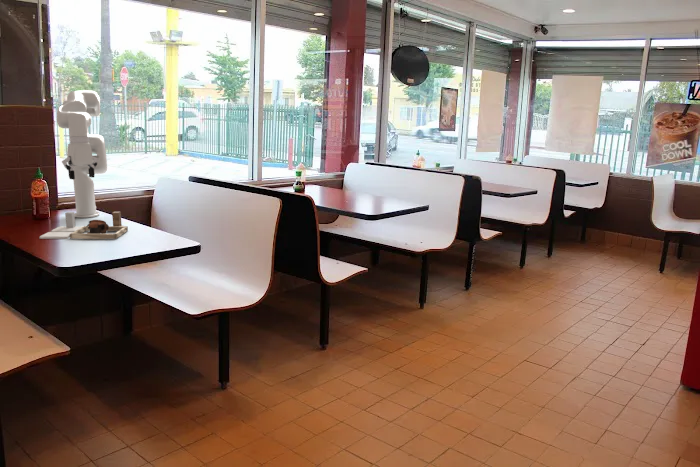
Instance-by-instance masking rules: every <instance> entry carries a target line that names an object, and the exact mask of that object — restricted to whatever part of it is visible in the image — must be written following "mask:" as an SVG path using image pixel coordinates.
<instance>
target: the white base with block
mask: <svg viewBox="0 0 700 467" xmlns="http://www.w3.org/2000/svg"><path fill="white" fill-rule="evenodd" d="M74 213H75V212H74V211H68V212H66V213H64V214H65V224H66V225H64V226H63V225H61V226H57V227H56V228H53V229H51V230H50V231H48V232H46V233H44V234H42V235H40V236H39V240H40V239H42V240H44V239H46V240H48V239H49V240H50V239H51V240H56V239H57V240H58V239H59V240H61V239H62V240H65V239H67V240H68V239H70V234H71V233H73V232H75V231H76V230H78V229H80V228H82V227H83V226H76V219H75V218H76V217H75V215H74Z"/></svg>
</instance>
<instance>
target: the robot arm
mask: <svg viewBox="0 0 700 467" xmlns="http://www.w3.org/2000/svg"><path fill="white" fill-rule="evenodd" d="M100 101H101V100H100V96H99V95H98V93H97V92H96V91H94V90H72V91H70V92H69V93H68V94H67V96H66V100H64V101H63V102H62V105H60V106H58V108H57V109H56V123H57V125H58V127H59V128H62V129H68V135H69V143H67V149H66V151H67V153H66V154H67V155H66V156H67V157H66V158H65V159H63V160H62V161H61V163H62V165H63V167H64V168H65V169H66V170H67V172H68V178H69V180H73V181H72V182H73V188H74V200H75V201H74V202H75V203H74V204H75V211H76V212H74V215H75V218H78V219H79V218H80V219H81V218H83V219H84V218H85V219H86V218H95V217H98V216H100V212H98V211H96V210H97V206H96V198H95V183H94V181H93V179H92V178H95V175H97V174H98V175H99V174H105V173H106V172H107V170H108V161H107V151H106V140H105V138H104V136H103V135H100V134H90V132H89V127H90V126H91V124H92V117H98V116H99V115H100V113H101V102H100ZM93 154H95V155H93Z"/></svg>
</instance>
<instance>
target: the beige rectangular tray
mask: <svg viewBox="0 0 700 467" xmlns="http://www.w3.org/2000/svg"><path fill="white" fill-rule="evenodd" d="M111 214H112V215H111V216H112V226H111V225H108V226H109V228H108V230H107V232H115V233H105V234H101V233H100V234H87V233H85V232H89V231H90V229H88V227H86V226H87V225H84V226H81V227H82V228H80V229H78V230H76V231H75V232H73V233H71V234H70V238H69V239H76V240H77V239H79V240H80V239H81V240H84V239H86V240H91V239H92V240H93V239H94V240H95V239H98V240H101V239H102V240H108V239H109V240H111V239H112V240H117V239H118V238H119V237H121V236H122V235H124V233H126V232H128V230H129V228H128V226H125V225H122V212H121V211H112V213H111Z"/></svg>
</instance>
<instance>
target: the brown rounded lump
mask: <svg viewBox="0 0 700 467" xmlns="http://www.w3.org/2000/svg"><path fill="white" fill-rule="evenodd" d="M85 226H86V227H88V229H90V231H86V234H107V232H108V231H107V230H108V228H109V226H110V225H109V224H108V223H107V222H106V220H105V221H104V220H101V219H92V220H88V224H87V225H85Z"/></svg>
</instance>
